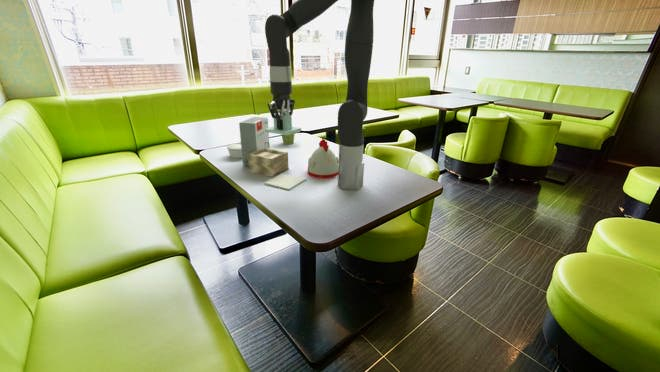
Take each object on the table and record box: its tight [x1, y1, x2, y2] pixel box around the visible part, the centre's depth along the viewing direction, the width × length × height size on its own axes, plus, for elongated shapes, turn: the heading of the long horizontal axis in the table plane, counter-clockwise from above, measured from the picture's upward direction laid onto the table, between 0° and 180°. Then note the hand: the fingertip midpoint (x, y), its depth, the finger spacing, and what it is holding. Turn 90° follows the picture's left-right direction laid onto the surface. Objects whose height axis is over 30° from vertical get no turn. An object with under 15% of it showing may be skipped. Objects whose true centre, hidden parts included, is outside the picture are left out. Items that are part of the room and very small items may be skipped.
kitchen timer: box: [307, 138, 339, 180], centre depth 129 cm, size 14×14×15 cm
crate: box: [248, 148, 289, 178], centre depth 131 cm, size 13×11×8 cm
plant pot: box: [281, 133, 296, 145], centre depth 172 cm, size 9×9×9 cm
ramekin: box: [227, 142, 242, 159], centre depth 150 cm, size 11×11×5 cm
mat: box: [263, 172, 307, 191], centre depth 121 cm, size 12×12×1 cm
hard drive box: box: [238, 116, 271, 167], centre depth 140 cm, size 16×8×20 cm, turn 168°
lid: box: [265, 113, 302, 136], centre depth 112 cm, size 11×9×6 cm
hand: (283, 128), depth 112 cm, fingers closed on lid, 3 cm apart
